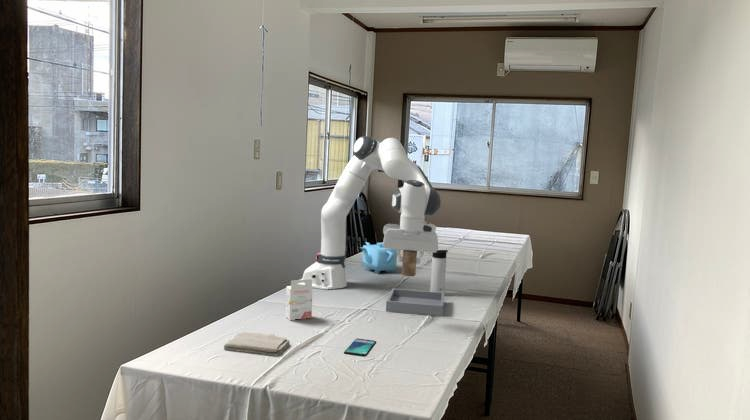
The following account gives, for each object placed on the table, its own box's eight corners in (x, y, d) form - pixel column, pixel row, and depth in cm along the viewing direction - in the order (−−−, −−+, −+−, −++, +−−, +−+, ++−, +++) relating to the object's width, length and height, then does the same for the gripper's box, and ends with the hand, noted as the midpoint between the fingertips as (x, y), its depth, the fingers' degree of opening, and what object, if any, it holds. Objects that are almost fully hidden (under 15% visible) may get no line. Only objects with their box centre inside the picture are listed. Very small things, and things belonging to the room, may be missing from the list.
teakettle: (393, 276, 295) (395, 247, 294) (356, 272, 298) (358, 244, 297) (398, 269, 314) (400, 241, 312) (364, 265, 317) (365, 238, 315)
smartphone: (376, 340, 194) (365, 355, 180) (376, 343, 194) (365, 357, 180) (355, 338, 196) (343, 352, 181) (355, 340, 196) (343, 354, 181)
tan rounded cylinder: (401, 275, 216) (402, 251, 215) (402, 272, 221) (404, 249, 220) (414, 276, 215) (416, 252, 214) (415, 274, 220) (417, 250, 219)
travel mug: (444, 296, 259) (447, 251, 257) (429, 294, 260) (431, 250, 258) (445, 293, 265) (448, 249, 263) (430, 291, 267) (433, 247, 264)
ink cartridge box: (306, 315, 220) (308, 276, 218) (311, 318, 216) (313, 279, 214) (284, 317, 216) (286, 277, 215) (289, 321, 212) (290, 280, 210)
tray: (385, 311, 231) (386, 301, 230) (391, 297, 252) (392, 288, 252) (442, 316, 228) (443, 306, 228) (443, 302, 250) (444, 292, 249)
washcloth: (279, 357, 176) (279, 347, 176) (222, 351, 179) (222, 341, 179) (291, 345, 188) (291, 335, 188) (237, 339, 191) (237, 330, 190)
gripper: (382, 224, 214) (380, 261, 216) (439, 228, 211) (436, 266, 213) (384, 221, 220) (382, 258, 222) (439, 226, 218) (437, 263, 219)
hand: (409, 262), depth 217 cm, fingers closed on tan rounded cylinder, 5 cm apart
